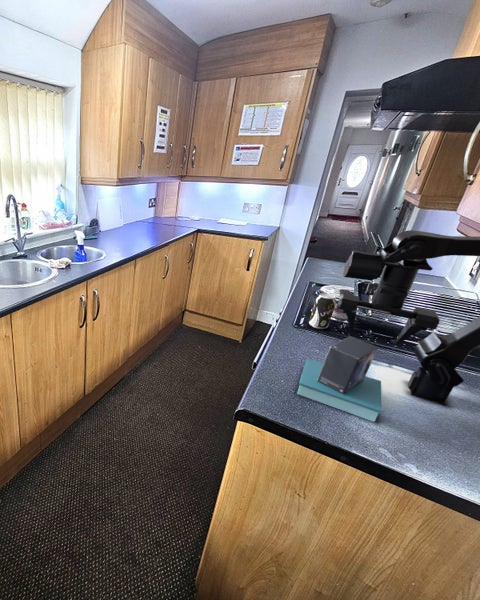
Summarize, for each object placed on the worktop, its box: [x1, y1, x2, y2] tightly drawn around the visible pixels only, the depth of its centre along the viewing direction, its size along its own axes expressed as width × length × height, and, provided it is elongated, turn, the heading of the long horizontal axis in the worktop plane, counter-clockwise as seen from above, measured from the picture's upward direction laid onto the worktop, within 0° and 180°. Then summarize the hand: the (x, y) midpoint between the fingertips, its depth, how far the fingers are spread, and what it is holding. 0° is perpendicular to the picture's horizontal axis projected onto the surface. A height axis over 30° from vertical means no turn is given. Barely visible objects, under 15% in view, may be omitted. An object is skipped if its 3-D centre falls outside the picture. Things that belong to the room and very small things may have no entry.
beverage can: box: [308, 292, 337, 330], centre depth 115 cm, size 6×6×12 cm
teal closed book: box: [296, 358, 383, 423], centre depth 83 cm, size 16×14×4 cm
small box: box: [317, 335, 379, 394], centre depth 81 cm, size 11×6×10 cm, turn 120°
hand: (372, 339), depth 85 cm, fingers open, 9 cm apart
